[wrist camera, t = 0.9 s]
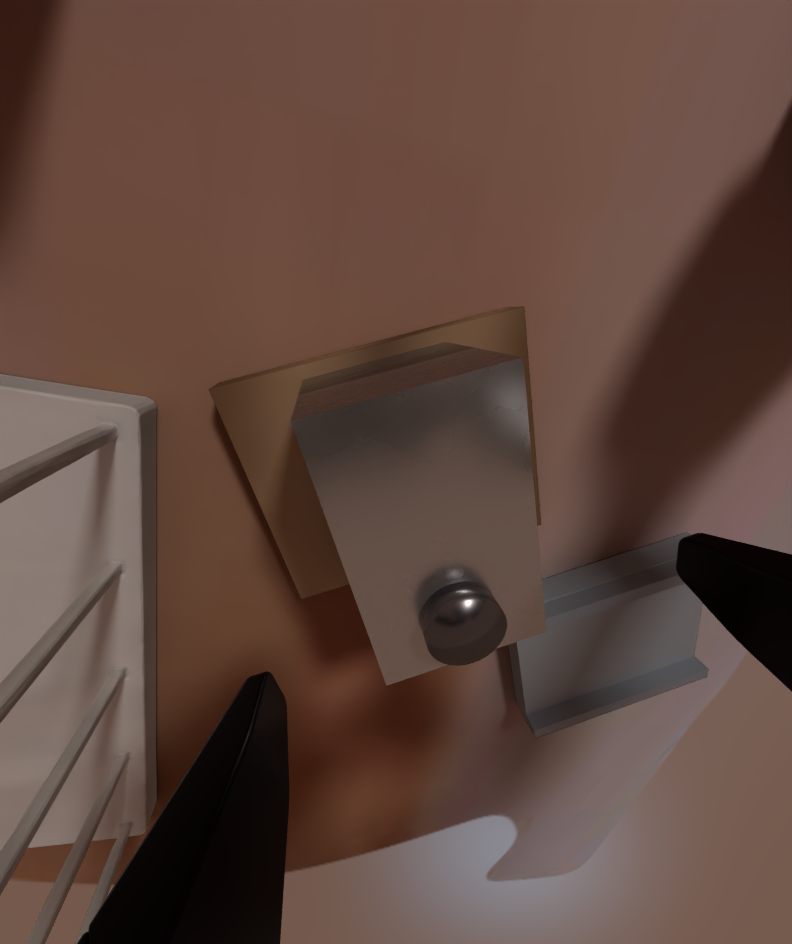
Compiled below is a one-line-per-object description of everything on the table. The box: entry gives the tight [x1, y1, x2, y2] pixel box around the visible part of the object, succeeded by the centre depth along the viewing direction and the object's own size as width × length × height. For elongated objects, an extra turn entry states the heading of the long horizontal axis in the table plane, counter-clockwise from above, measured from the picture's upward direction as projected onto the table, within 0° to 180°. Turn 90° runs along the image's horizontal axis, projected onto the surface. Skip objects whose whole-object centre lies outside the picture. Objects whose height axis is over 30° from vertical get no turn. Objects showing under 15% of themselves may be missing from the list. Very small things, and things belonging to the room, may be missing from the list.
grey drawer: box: [291, 342, 546, 686], centre depth 13 cm, size 6×9×7 cm, turn 14°
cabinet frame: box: [508, 532, 708, 739], centre depth 23 cm, size 12×10×2 cm
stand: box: [209, 306, 541, 599], centre depth 16 cm, size 12×10×2 cm
